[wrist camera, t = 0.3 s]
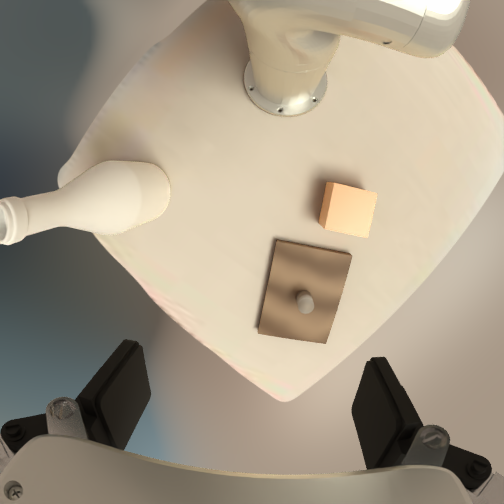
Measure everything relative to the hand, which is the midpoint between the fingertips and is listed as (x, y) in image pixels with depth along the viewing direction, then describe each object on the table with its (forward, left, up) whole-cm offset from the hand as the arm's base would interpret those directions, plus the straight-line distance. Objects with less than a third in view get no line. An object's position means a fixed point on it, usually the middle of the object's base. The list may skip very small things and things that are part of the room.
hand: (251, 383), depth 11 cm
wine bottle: (-3, -20, -35) cm, 40 cm away
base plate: (+9, +8, -35) cm, 37 cm away
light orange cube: (-6, +11, -35) cm, 37 cm away
